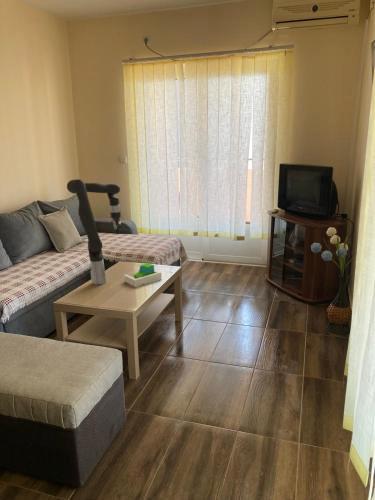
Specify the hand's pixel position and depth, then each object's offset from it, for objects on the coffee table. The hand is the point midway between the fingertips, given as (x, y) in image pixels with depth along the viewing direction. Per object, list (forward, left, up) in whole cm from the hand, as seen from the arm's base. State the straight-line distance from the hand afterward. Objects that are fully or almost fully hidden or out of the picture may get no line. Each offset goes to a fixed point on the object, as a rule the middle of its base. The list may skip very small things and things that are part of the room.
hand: (117, 233), depth 299 cm
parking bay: (+2, -28, -31) cm, 41 cm away
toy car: (+4, -26, -31) cm, 41 cm away
